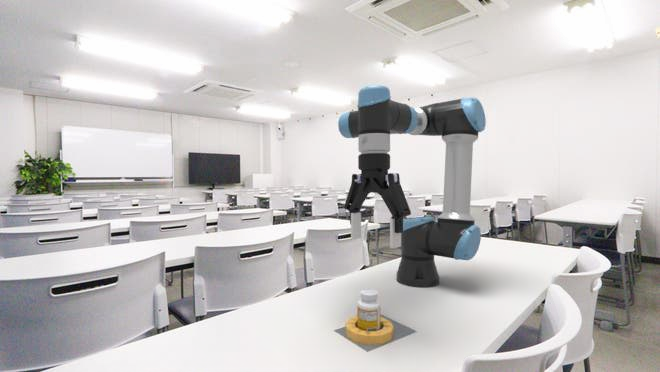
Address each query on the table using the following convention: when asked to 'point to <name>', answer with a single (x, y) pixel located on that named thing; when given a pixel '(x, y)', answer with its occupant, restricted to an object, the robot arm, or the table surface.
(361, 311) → the supplement bottle
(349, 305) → the table surface
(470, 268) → the table surface
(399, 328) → the slate mat
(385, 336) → the golden tan faceted ring
